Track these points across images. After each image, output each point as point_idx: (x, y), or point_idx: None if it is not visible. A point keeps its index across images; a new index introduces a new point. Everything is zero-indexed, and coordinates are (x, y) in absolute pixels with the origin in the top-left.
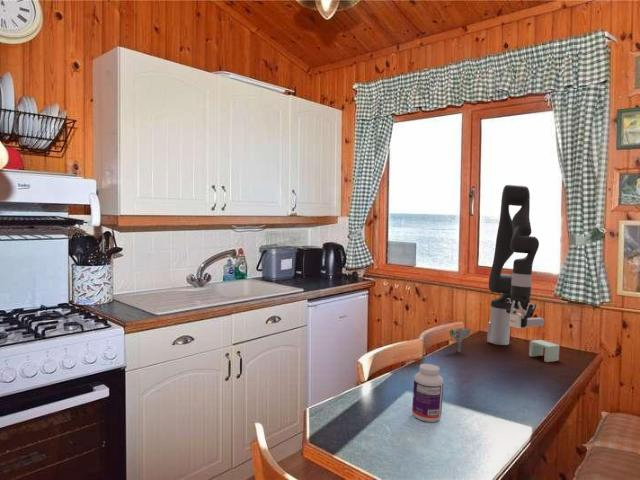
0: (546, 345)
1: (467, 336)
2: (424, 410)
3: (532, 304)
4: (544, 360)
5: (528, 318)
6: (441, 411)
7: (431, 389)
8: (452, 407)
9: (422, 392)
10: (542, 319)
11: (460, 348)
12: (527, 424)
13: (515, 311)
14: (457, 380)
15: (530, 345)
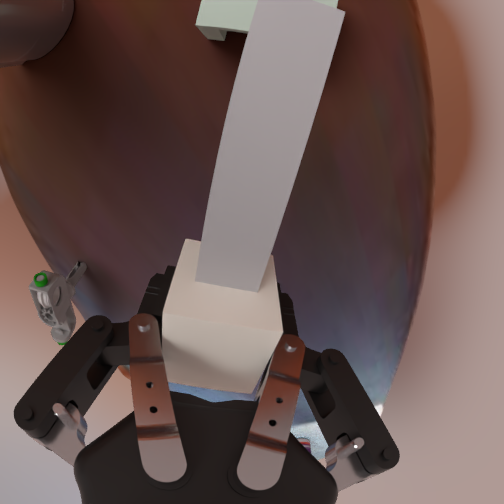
0: None
1: (62, 282)
2: None
3: (369, 477)
4: None
5: (230, 194)
6: (309, 445)
7: None
8: (301, 427)
9: None
10: (335, 42)
11: (81, 272)
12: (377, 404)
13: (151, 354)
14: (248, 394)
15: (205, 30)
